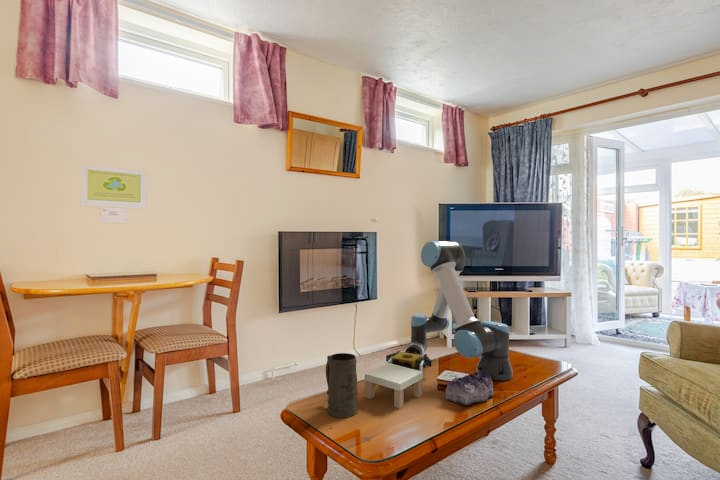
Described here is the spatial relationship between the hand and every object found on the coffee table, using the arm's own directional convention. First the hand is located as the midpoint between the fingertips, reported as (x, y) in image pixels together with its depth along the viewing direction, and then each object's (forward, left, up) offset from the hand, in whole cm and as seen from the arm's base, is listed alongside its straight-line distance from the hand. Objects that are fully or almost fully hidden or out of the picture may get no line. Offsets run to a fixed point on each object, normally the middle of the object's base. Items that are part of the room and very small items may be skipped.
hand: (404, 366), depth 167 cm
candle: (0, -2, -6) cm, 7 cm away
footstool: (-6, +16, -6) cm, 18 cm away
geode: (-29, -1, -6) cm, 30 cm away
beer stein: (+3, +38, -6) cm, 39 cm away
